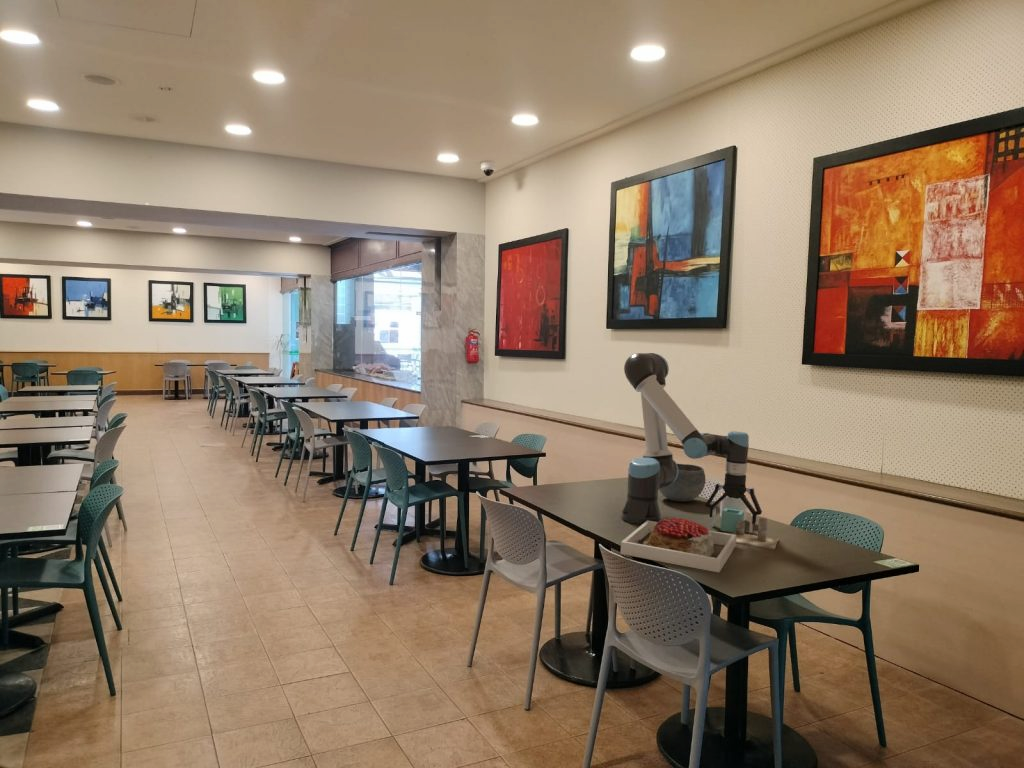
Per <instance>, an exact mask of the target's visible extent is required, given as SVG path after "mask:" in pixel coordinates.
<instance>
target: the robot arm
mask: <svg viewBox="0 0 1024 768" xmlns="http://www.w3.org/2000/svg"><path fill="white" fill-rule="evenodd" d="M623 371H624V375H625V378H626V379H627V381H628V382H629V384H630V385H631V386H632V387H633V389H634V390H635V391H636V392H637V393H640V397H641V398H640V399H641V407H642V409H641V410H642V417H643V418H642V419H643V430H644V438H645V440H644V441H645V449H646V450H645V452H644V453H643V454H642V457H636V458H633V459H632V460H630V462H629V464H628V468H627V469H628V470H627V472H628V473H627V474H628V475H627V493H626V500H625V503H624V506H623V507H622V510H621V516H620V518H621V519H622V520H623V521H624V522H627V523H632V524H636V525H642V524H644V523H645V522H646V521H647V520H648V521H654V522H659V521H661V520H662V514H661V510H660V506H659V502H658V498H659V497H658V496H659V489H660V488H664V487H667V486H669V485H671V484H672V483H673V482H674V481H675V480H676V479H677V477H678V466H677V464H678V463H677V461H675V460H674V457H673V452H672V451H670V449H669V447H668V437H667V436H668V434H667V427H666V426H668V428H669V430H671V431H672V433H673V434H674V435H675V436H676V438H677V439H678V440H679V442H680V443H681V444H682V445H683V452H684V454H685V455H686V456H687V458H690V459H694V460H696V459H702V458H704V457H707V456H711V455H717V456H724V457H725V473H724V483H723V484H720V483H719V482H717V483H716V484H715V486H714V490H713V492H711V495H710V496H709V498H708V499H707V502H706V503H705V505H704V506H705V508H709V518H711V527H712V528H714V527H715V526H716V517H717V508H716V507H717V506H718V505H719V504H721V501H722V500H723V499H724V498H725V497H726V496H728V497H729V498H736V499H738V498H740V499H741V500H742V501H743V502H744V504H745V505H746V506H747V509H748V510H749V512H750V513H751V514H750V516H749V527H748V534H752V533H753V527H754V526H753V525H756V523H757V516H759V515H762V512H763V510H762V509H761V506H760V504H759V501H758V499H757V496H756V493H755V488H754V487H751V488H749V487H748V488H747V487H746V483H747V475H746V474H747V472H748V471H747V469H748V456H749V455H748V453H749V447H750V446H749V443H750V441H749V439H750V438H749V434H748V433H747V432H743V431H735V430H734V431H729V432H728V433H727V435H721V434H720V435H719V434H714V433H713V434H712V433H709V432H700V431H699V430H698V429H697V427H696V426H695V425H694V424H693V423H692V421H691V420H690V419H689V418H688V417H687V415H685V413H684V411H682V409H681V408H680V407H679V406H678V404H677V403H676V402H675V400H673V398H672V397H671V396H670V395H669V393H667V391H666V390H665V387H666V385H667V384H666V378H667V376H669V375H668V374H669V371H670V370H669V363H668V361H667V360H666V358H664V356H663V355H661V354H657V353H655V352H654V353H653V352H648V353H646V352H645V353H643V352H642V353H641V352H640V353H639V352H638V353H634V354H632V355H630V356H629V357H628V358H627V359H626V360H625V362H624V368H623ZM722 489H723V491H724V492H723V493H724V494H723V495H722V496H721V495H720V497H719V498H718V499H716V501H714V502H713V500H714V498H715V497H716V495H717V494H718V492H719V491H720V490H722ZM746 493H748V495H749V496H750V498H751V501H752V503H753V505H752V504H751V502H750V501H749V500H747V498H746V496H747V495H746V496H745V494H746ZM712 502H713V503H712ZM753 506H754V507H753Z"/></svg>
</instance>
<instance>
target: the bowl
mask: <svg viewBox="0 0 1024 768" xmlns="http://www.w3.org/2000/svg"><path fill="white" fill-rule="evenodd" d="M676 464H677V466H678V477H677V479H676V480H675V481H674V482H673V483H672V484H671V485H669V486H667V487H664V488H660V489H658V492H660V493H661V495H662V496H664V497H665V498H666V499H668V500H670V501H673V502H681V503H682V502H690V501H693V500H695V499H696V498H698V497H699V496H700V495H701V494H702V492H703V491H704V489H705V488H704V487H705V485H706V473H705V470H704V468H703V467H702V466H700V465H695V464H684V463H676Z"/></svg>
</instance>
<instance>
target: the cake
mask: <svg viewBox="0 0 1024 768" xmlns="http://www.w3.org/2000/svg"><path fill="white" fill-rule="evenodd" d="M710 531H711V530H709V529H708V528H707V527H705V526H704V525H702V524H700V523H697V522H695V521H692V520H688V519H684V518H679V517H666V518H663V519H661V521H659V522H658V523H657V524H656V525H655V527H654V529H653V531H652V533H650V535H649V536H648V537H647V538H646V539H645V540H642V545H647V546H653V547H659V548H664V549H670V550H675V551H681V552H686V553H692V554H697V555H703V556H708V557H714V555H715V544H713V538H712V534H711V533H710ZM640 541H641V540H638V543H641V542H640Z"/></svg>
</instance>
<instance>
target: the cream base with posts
mask: <svg viewBox="0 0 1024 768" xmlns="http://www.w3.org/2000/svg"><path fill="white" fill-rule="evenodd" d="M745 528H746V522H745V521H744V522H742V521H737V529H736V532H730V534H733V535H736V544H740V545H746V546H751V547H758V548H762V549H763V548H764V549H769V550H774V549H775V550H776V547H777V544H778V542H779V538H772V537H768V536H767V530H768V518H765V517H759V518H758V527H757V528H758V529H757V535H756V534H755V535H754V534H751V533H748V534H747V533H745Z"/></svg>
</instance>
